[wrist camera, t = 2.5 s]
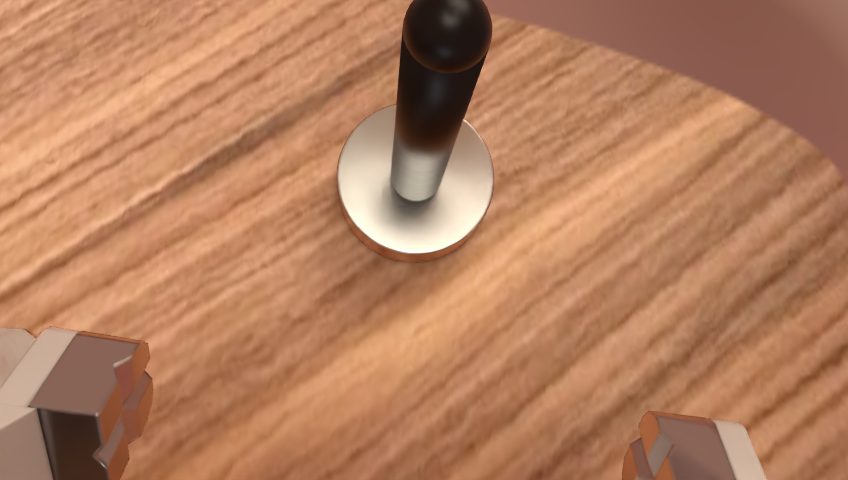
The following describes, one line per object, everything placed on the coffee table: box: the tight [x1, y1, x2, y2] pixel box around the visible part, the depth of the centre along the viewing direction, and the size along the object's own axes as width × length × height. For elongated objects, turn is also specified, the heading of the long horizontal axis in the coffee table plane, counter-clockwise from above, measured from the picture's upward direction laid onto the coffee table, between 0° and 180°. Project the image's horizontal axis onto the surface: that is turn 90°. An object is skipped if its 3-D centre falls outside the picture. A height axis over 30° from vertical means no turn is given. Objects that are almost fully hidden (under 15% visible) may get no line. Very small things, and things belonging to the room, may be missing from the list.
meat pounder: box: [337, 0, 494, 262], centre depth 20 cm, size 6×6×14 cm
